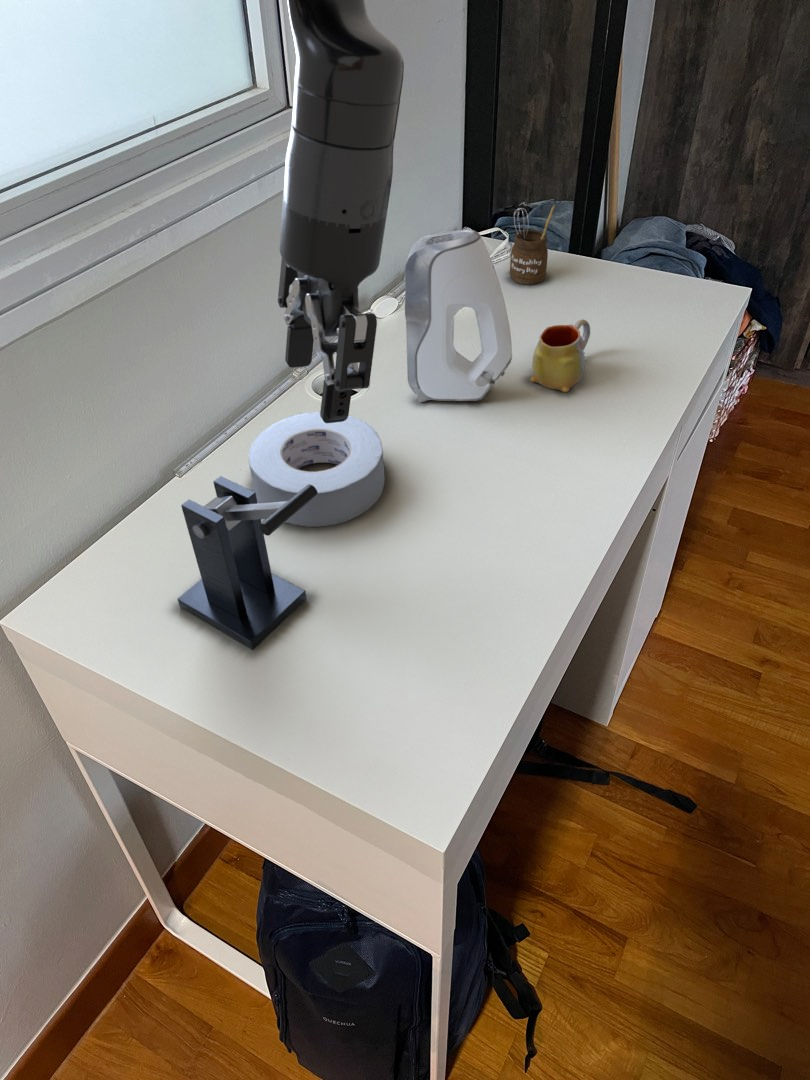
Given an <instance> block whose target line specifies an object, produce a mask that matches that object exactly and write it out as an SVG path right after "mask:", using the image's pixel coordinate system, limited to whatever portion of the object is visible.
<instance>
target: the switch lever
mask: <svg viewBox="0 0 810 1080" xmlns="http://www.w3.org/2000/svg"><path fill="white" fill-rule="evenodd" d="M317 494H318V492H317V490H316V488H315V487H314V486H313V485H311V484H309V485H307V486H306V487H304V488H303V489H302V490H301V491H299V492H298V493H297V494H296V495H295V496H293V497H292V498H291V499H290V500H288V501H285V502H272V503H258V504H246V505H238V504H237V503H236V501H235V499H234V498H233V496H226V497H217V496H216V497H214V498H212V500H209V502H207V503H206V504H204V505H203V507H205V508H207V509H209V510H211V511H213V512H215V513H217V514H219V515H221V516H223V517H224V518H225V523H226V527H227V531H229V530H230V529H232V528H233V527H234V526H235V525H237V524H238V523H239V522H240V521H242V520H258V519H261V520H263V521H261V523H260V524H259V528H260V530H261V532H262V533H263V534H264V536H268V537H270V536H271V535H272V534H274V532H276V531H277V530H278V529H280V527H281V526H283V525H284V524H285V523H286V521H287V520H288V519H290V518H291V517H292V516H293V515H294V514H296V513H297V512H298V511H299V510H300V509H302V508H303V507H304V506H305V505H306V504H308V503H309V502H310V501H311V500H312V499H314V498H315V497H316V496H317Z"/></svg>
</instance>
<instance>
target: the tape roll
mask: <svg viewBox="0 0 810 1080" xmlns="http://www.w3.org/2000/svg"><path fill="white" fill-rule="evenodd" d="M317 463H319V464H320V463H328V464H334V465H335V466H333V467H331V468H327V469H324V470H323V469H322V470H317V471H307V470H302V469H301V468H302V467H303V468H304V467H305V466H308V465H312V464H317ZM248 465H249V470H250V475H251V481H252V486H253V492H255V493H256V498H257V503H258V504H259V503H272V502H285V501H288V500H290V499H291V498H292V497H293V496H295V495H296V494H297V493H298V492H299V491H301V490H302V489H303V488H304V487H306V486H307V485H309V484H311V485H313V486H314V487H315V488H316V490H317V492H318V494H317V496H316V497H315V498H314V499H312V500H311V501H310V502H309V503H308V504H306V505H305V506H304V507H303V508H302V509H300V510H299V511H298V512H297V513H296V514H294V515H293V516H292V517H291V518H290V519H288V520H287V521H286V522H285V523H286V524H290V525H293V526H300V527H308V528H309V527H312V528H314V527H315V528H316V527H317V528H318V527H328V526H329V527H330V526H335V525H339V524H343V523H346V522H349V521H350V520H352V519H355V518H356V517H358V516H360V515H361V514H362V515H363V513H365V512H367V511H368V510H370V509H371V508H372V507H373V506H374V504H375V503H376V502H377V501H378V500H379V498H380V497H381V495H382V494H383V491H384V487H385V465H384V448H383V444H382V439H381V438H380V435H379V433H378V432H377V431H376V430H375V428H374V427H372V426H371V425H370V424H369V423H368V422H367V421H364V420H362V419H360V418H357V417H355V416H353V415H348V418H347V419H346V420H345V421H343V422H335V423H325V422H324V421H323V420H322V418H321V417H320V411H312V412H301V413H298V414H294V415H290V416H287V417H285V418H283V419H280V420H278V421H276V422H275V423H273V424H271V425H269V426H268V427H266V428H265V429H264V430H263V431H262V432H260V433H259V434H258V435H257V436H256V438H255V439H254V441H252V444H251V445H250V447H249V450H248Z"/></svg>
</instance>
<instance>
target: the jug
mask: <svg viewBox="0 0 810 1080" xmlns="http://www.w3.org/2000/svg"><path fill="white" fill-rule="evenodd" d="M404 290H405V291H404V317H405V329H406V330H405V331H406V332H405V333H406V336H405V337H406V370H407V373H406V374H407V383H408V387H409V388H410V389H411V391H412V392H413V394H415V395H417V401H418V403H424V402H427V401H431V400H432V401H437V402H438V401H440V402H441V401H443V402H444V401H445V402H447V401H448V402H458V401H459V402H478V401H480V400H482V399H483V398H484V397H485V396H486V395H487V394H488V392H489V391H490V390H491V389H492V388H493V386H494V385H495V383H496V382H497V381H498V380H500V378H501V377H503V376H504V375H505V373H506V370H507V369H508V368H509V366H510V364H511V363H512V360H513V346H512V345H513V344H512V332H511V327H510V321H509V320H510V319H509V315H508V311H507V305H506V302H505V298H504V294H503V291H502V288H501V284H500V280H499V277H498V274H497V272H496V268H495V265H494V263H493V260H492V257H491V255H490V253H489V250H488V248H487V246H486V244H485V242H484V239H483V237H482V235H481V234H480V233H479V232H478V231H476V230H474V229H456V230H455V229H454V230H448V231H442V232H435V233H431V234H428V235H425V236H422V237H421V238H419V239H418V240H417V241H416V242H414V244H413V245H412V246H411V248H410V250H409V252H408V257H407V260H406V263H405V266H404ZM461 308H471V309H473V311H474V314H475V318H476V322H477V328H478V333H479V341H480V349H481V350H480V353H479V354H478V355H477V357H476V358H475V359H474V360H472V361H471V360H469V359H468V358H466V357H465V356H464V355H462V354H461V353H460V352H458V350H457V349H456V348H455V343H454V342H455V316H456V315H457V314H458V312H459V311H460V309H461Z"/></svg>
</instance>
